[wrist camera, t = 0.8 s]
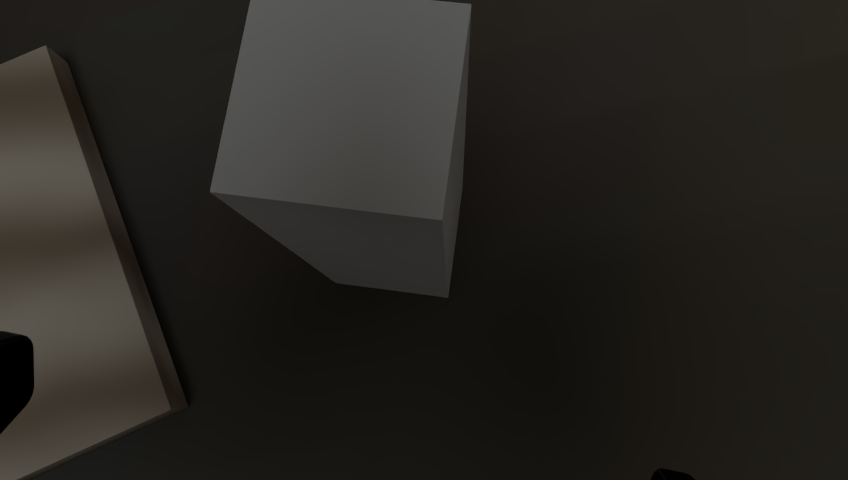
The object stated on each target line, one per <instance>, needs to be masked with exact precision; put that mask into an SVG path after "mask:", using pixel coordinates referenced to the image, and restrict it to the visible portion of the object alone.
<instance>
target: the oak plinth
mask: <svg viewBox="0 0 848 480" xmlns="http://www.w3.org/2000/svg"><path fill="white" fill-rule="evenodd" d="M0 331H7V332H11V333H16V334H21V335H25V336H27V337H28V338H30V339H31V341H32V343H33V348H34V391H33V394H32V397H31V399H30V401H29V402H28V404H27V405H26V406H25V408H24V409H23V410H22V411H21V412H20V413H19V414H18V415H17V417H16V418H15V419H14V420H13V421H12V422H11V423H10V424H9V425H8V427H7V428H6V429H5V430H4V431H3V432H2V433H1V434H0V480H29V479H31V478H33V477H36V476H38V475H40V474H42V473H44V472H47V471H49V470H51V469H53V468H55V467H58V466H60V465H62V464H64V463H66V462H69V461H71V460H73V459H75V458H77V457H80V456H82V455H84V454H86V453H88V452H91V451H93V450H95V449H97V448H99V447H102V446H104V445H106V444H108V443H110V442H113V441H115V440H117V439H119V438H121V437H124V436H126V435H128V434H130V433H132V432H135V431H137V430H139V429H141V428H143V427H146V426H148V425H150V424H152V423H154V422H157V421H159V420H161V419H163V418H165V417H168V416H170V415H172V414H174V413H176V412H179V411H181V410H183V409H185V408H187V407H188V404H187V401H186V398H185V396H184V393H183V390H182V387H181V384H180V381H179V379H178V376H177V373H176V370H175V367H174V364H173V361H172V359H171V356H170V353H169V350H168V347H167V344H166V341H165V339H164V336H163V333H162V330H161V327H160V324H159V322H158V319H157V316H156V313H155V310H154V307H153V304H152V302H151V299H150V296H149V293H148V290H147V287H146V284H145V282H144V279H143V276H142V273H141V270H140V267H139V265H138V262H137V259H136V256H135V253H134V250H133V247H132V245H131V242H130V239H129V236H128V233H127V230H126V227H125V225H124V222H123V219H122V216H121V213H120V210H119V208H118V205H117V202H116V199H115V196H114V193H113V190H112V188H111V185H110V182H109V179H108V176H107V173H106V170H105V168H104V165H103V162H102V159H101V156H100V153H99V151H98V148H97V145H96V142H95V139H94V136H93V133H92V131H91V128H90V125H89V122H88V119H87V116H86V113H85V111H84V108H83V105H82V102H81V99H80V96H79V94H78V91H77V88H76V85H75V82H74V79H73V76H72V74H71V71H70V68H69V65H68V63H67V62H66V61H65V60H64V59H62V58H61V57H60V56H58V55H57V54H56V53H55V52H53V51H52V50H51V49H50V48H48V47H47V46H46V45H45V46H43V47H41V48H38V49H36V50H34V51H31V52H29V53H26V54H24V55H22V56H19V57H17V58H15V59H12V60H10V61H8V62H5V63H3V64H1V65H0Z"/></svg>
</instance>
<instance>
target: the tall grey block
mask: <svg viewBox="0 0 848 480" xmlns="http://www.w3.org/2000/svg"><path fill="white" fill-rule="evenodd" d="M470 21H471V4H465V3H454V2H444V1H433V0H250V5H249V9H248V14H247V19H246V24H245V28H244V33H243V38H242V42H241V47H240V52H239V57H238V61H237V66H236V71H235V75H234V80H233V85H232V89H231V94H230V99H229V104H228V108H227V113H226V118H225V122H224V127H223V132H222V136H221V141H220V146H219V151H218V155H217V160H216V165H215V169H214V174H213V179H212V183H211V188H210V193H212V194H213V195H215V196H216V197H217V198H219V199H220V200H221V201H223V202H224V203H226V204H227V205H228V206H230V207H231V208H233V209H234V210H235V211H237V212H238V213H240V214H241V215H242V216H244V217H245V218H246V219H248V220H249V221H251V222H252V223H253V224H255V225H256V226H258V227H259V228H260V229H262V230H263V231H264V232H266V233H267V234H269V235H270V236H271V237H273V238H274V239H276V240H277V241H278V242H280V243H281V244H283V245H284V246H285V247H287V248H288V249H289V250H291V251H292V252H294V253H295V254H296V255H298V256H299V257H301V258H302V259H303V260H305V261H306V262H308V263H309V264H310V265H312V266H313V267H314V268H316V269H317V270H319V271H320V272H321V273H323V274H324V275H326V276H327V277H328V278H330V279H331V280H332V281H334V282H335V283H339V284H347V285H355V286H362V287H370V288H377V289H385V290H393V291H400V292H408V293H415V294H423V295H431V296H438V297H446V298H448V296H449V288H450V280H451V273H452V265H453V257H454V250H455V242H456V234H457V226H458V219H459V211H460V203H461V195H462V187H463V166H464V145H465V125H466V104H467V83H468V63H469V42H470Z"/></svg>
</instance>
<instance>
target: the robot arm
mask: <svg viewBox="0 0 848 480" xmlns="http://www.w3.org/2000/svg"><path fill="white" fill-rule="evenodd" d="M33 391H34V348H33V343H32V341H31V339H30V338H28V337H27V336H25V335H21V334H16V333H11V332H7V331H0V434H1V433H2V432H3V431H4V430H5V429H6V428H7V427H8V425H9V424H10V423H11V422H12V421H13V420H14V419H15V418H16V417H17V415H18V414H19V413H20V412H21V411H22V410H23V409H24V408H25V406H26V405H27V404H28V402H29V401H30V399H31V397H32V394H33ZM651 480H695V479H694V478H693V477H691V476H690V475H688V474H686V473H682V472H677V471H672V470H667V469H657V470H656V471H655V472H654V474H653V475H652V478H651Z"/></svg>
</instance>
